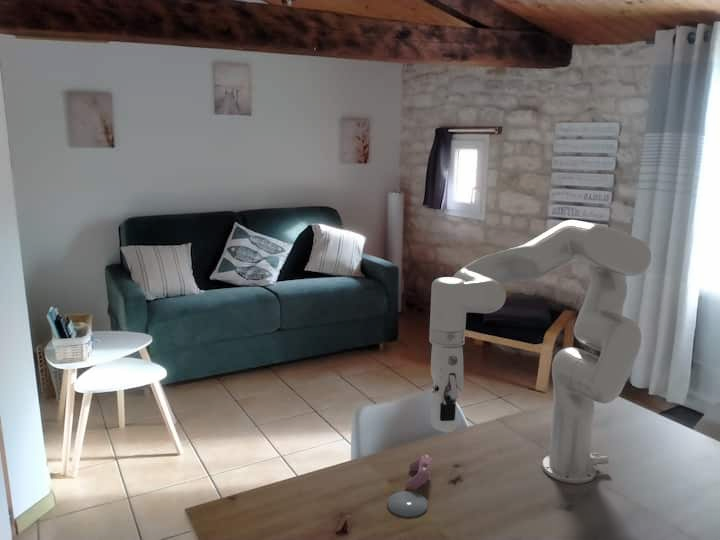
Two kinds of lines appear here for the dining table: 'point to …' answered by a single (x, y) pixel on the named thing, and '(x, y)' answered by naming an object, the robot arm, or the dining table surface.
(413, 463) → the video game controller
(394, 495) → the glossy grey pebble
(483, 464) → the dining table surface
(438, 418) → the eye dropper bottle
